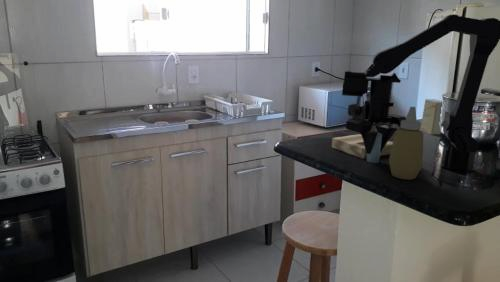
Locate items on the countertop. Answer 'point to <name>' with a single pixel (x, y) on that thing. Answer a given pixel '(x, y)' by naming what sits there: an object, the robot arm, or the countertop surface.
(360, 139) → the board
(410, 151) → the squeeze bottle
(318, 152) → the countertop surface
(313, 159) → the countertop surface
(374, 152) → the peg
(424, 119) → the skincare box
